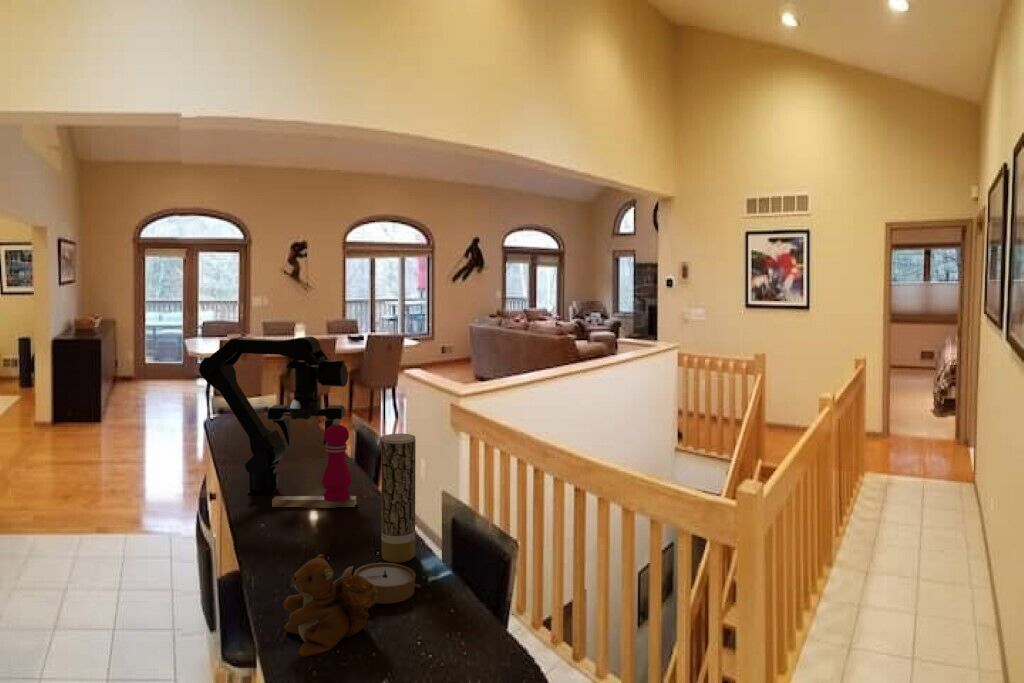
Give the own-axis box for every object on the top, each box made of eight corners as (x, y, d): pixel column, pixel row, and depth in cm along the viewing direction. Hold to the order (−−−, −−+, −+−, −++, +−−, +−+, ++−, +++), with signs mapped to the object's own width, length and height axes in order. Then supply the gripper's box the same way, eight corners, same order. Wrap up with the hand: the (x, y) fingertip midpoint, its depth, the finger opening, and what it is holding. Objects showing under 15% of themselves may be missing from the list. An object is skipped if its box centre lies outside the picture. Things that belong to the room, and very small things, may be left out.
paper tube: (387, 566, 141) (387, 442, 139) (377, 554, 147) (377, 435, 145) (419, 560, 144) (420, 439, 142) (408, 549, 150) (408, 432, 148)
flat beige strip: (272, 507, 175) (272, 500, 175) (275, 504, 178) (275, 496, 178) (354, 507, 176) (354, 499, 176) (356, 503, 179) (356, 496, 179)
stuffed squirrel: (281, 630, 115) (279, 552, 114) (367, 615, 121) (367, 540, 120) (288, 661, 106) (287, 576, 105) (382, 643, 112) (381, 562, 111)
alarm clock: (426, 582, 128) (345, 584, 121) (422, 609, 128) (340, 612, 121) (404, 560, 138) (328, 560, 130) (400, 585, 138) (323, 587, 130)
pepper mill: (318, 502, 174) (317, 421, 172) (327, 493, 181) (326, 415, 179) (347, 503, 173) (346, 422, 172) (355, 494, 181) (354, 416, 179)
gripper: (260, 390, 176) (261, 452, 177) (337, 390, 177) (337, 452, 178) (273, 383, 187) (274, 442, 188) (345, 384, 188) (345, 442, 189)
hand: (307, 444), depth 186 cm, fingers open, 9 cm apart
